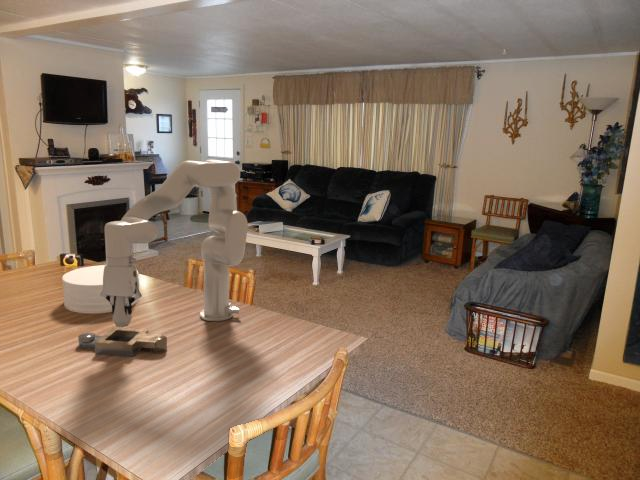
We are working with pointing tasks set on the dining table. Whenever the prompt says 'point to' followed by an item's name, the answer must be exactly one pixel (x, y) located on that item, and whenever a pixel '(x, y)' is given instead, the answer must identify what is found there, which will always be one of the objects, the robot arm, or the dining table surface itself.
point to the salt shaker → (121, 313)
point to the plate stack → (86, 290)
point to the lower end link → (89, 343)
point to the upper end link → (140, 340)
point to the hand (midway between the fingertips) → (122, 315)
